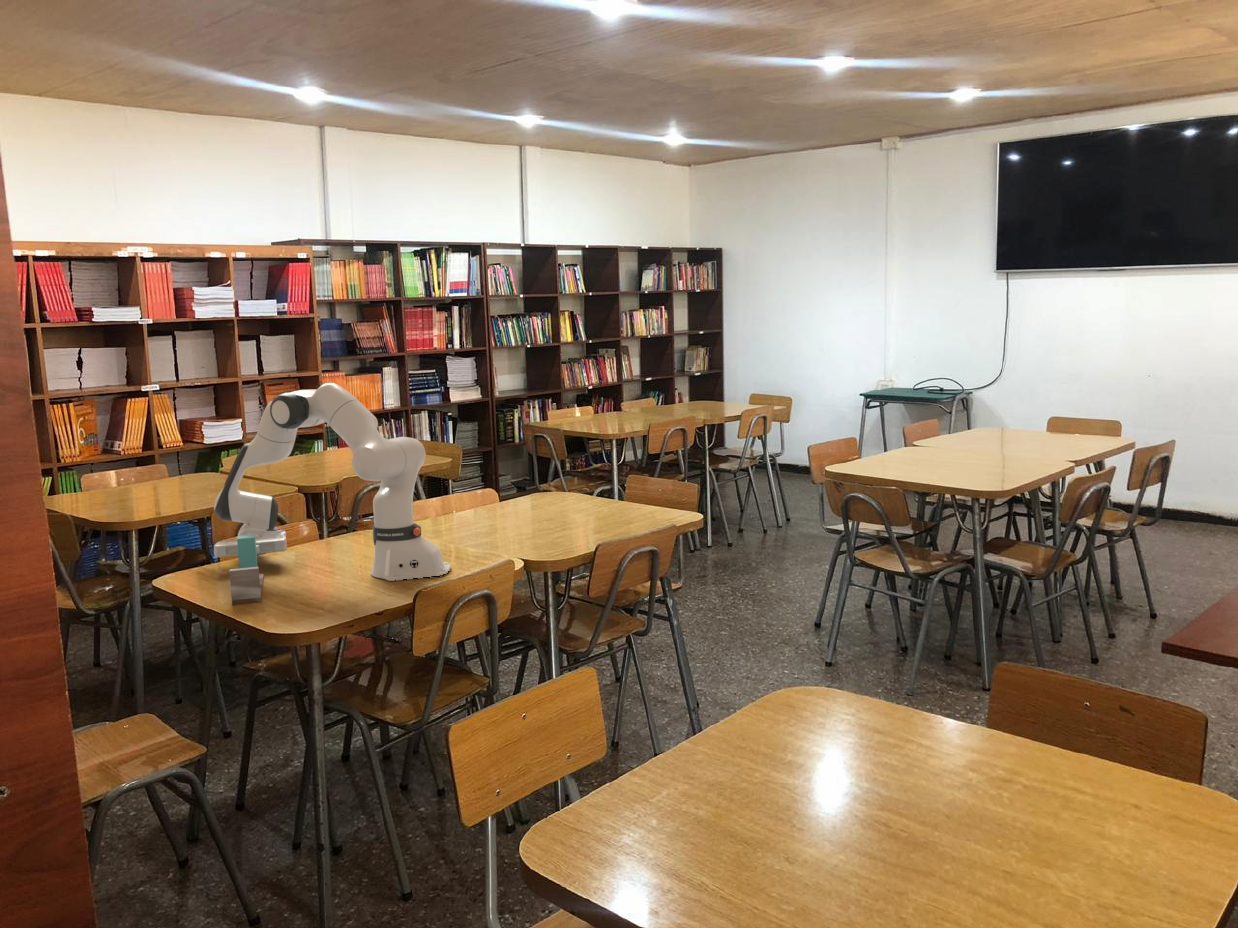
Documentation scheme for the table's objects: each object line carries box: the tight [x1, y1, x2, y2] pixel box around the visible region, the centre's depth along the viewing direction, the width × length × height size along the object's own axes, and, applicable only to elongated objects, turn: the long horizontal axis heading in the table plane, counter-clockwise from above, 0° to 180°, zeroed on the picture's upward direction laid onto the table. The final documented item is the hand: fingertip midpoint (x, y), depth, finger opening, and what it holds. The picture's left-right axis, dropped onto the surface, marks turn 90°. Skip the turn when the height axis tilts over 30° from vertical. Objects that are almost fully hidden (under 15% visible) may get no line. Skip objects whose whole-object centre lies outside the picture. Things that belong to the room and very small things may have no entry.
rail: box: [228, 566, 265, 606], centre depth 258 cm, size 26×7×9 cm, turn 19°
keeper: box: [236, 534, 259, 569], centre depth 265 cm, size 4×4×12 cm
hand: (249, 552), depth 274 cm, fingers closed
